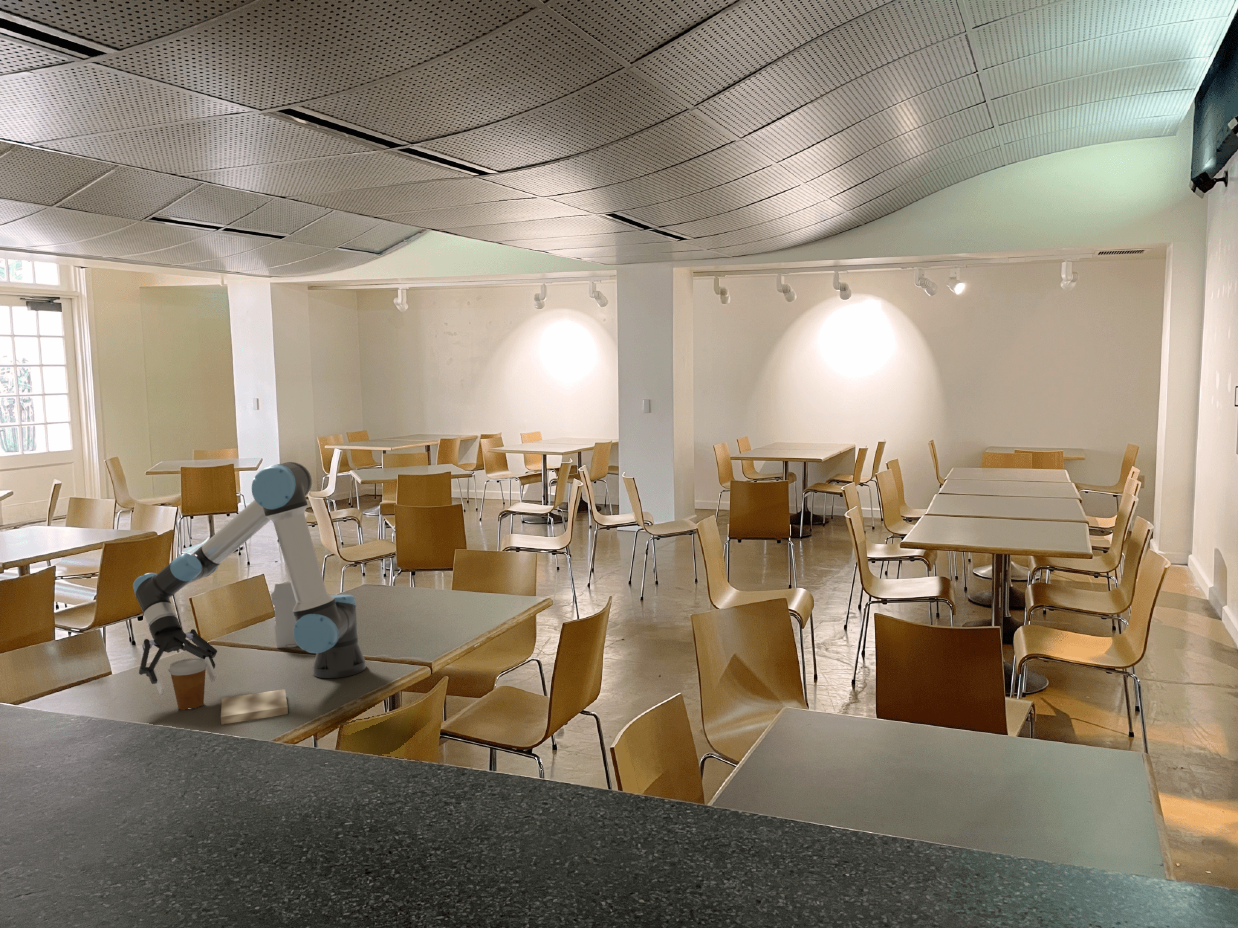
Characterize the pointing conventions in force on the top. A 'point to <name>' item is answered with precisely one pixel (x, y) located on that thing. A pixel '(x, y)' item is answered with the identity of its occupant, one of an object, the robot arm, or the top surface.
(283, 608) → the tall pale column
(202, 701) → the disposable coffee cup
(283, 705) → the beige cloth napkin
